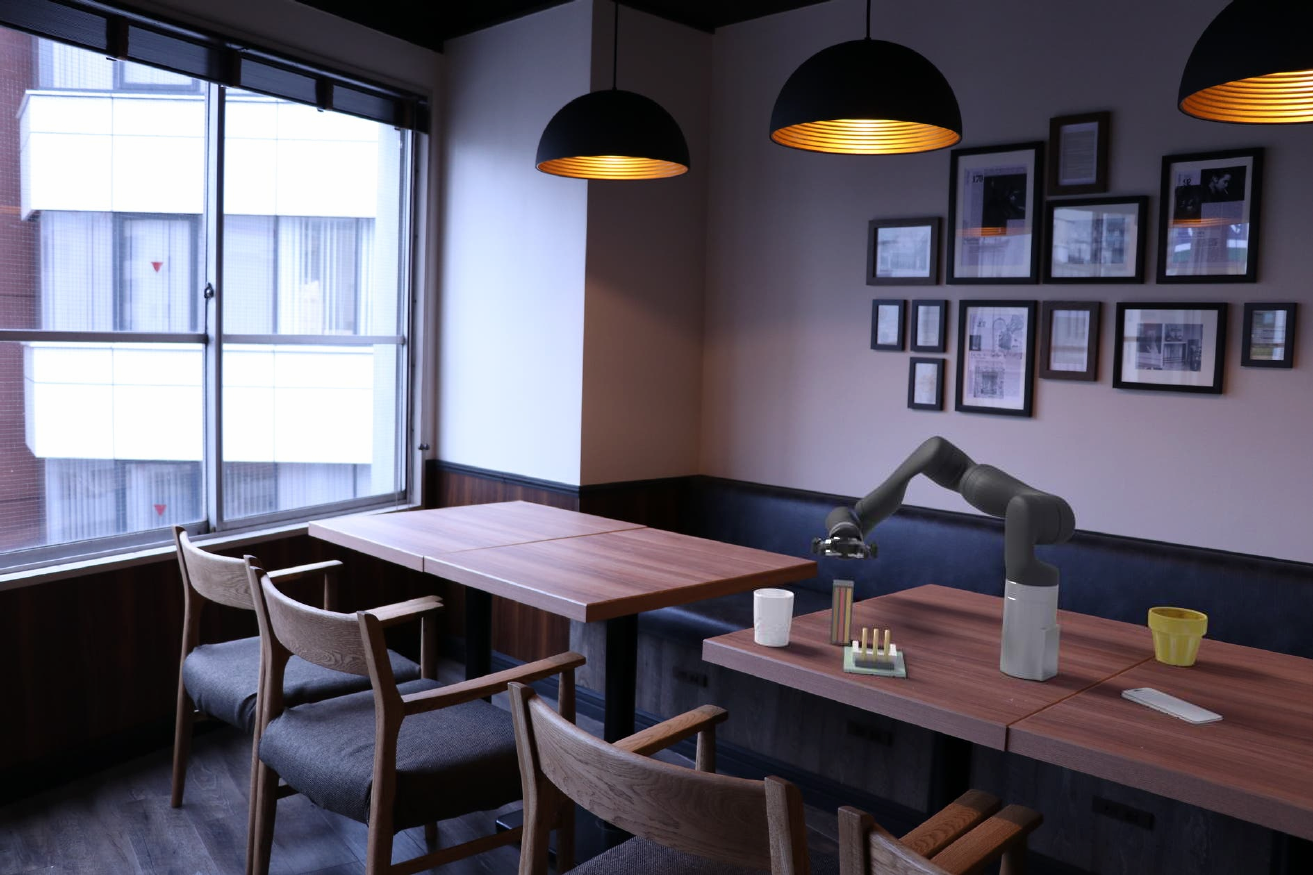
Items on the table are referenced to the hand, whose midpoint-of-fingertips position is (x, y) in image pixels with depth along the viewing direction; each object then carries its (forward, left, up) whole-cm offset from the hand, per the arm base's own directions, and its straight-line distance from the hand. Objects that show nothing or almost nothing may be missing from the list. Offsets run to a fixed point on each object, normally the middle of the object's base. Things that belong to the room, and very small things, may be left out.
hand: (844, 554), depth 219 cm
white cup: (+1, +21, -16) cm, 27 cm away
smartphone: (-66, -4, -16) cm, 68 cm away
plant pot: (-56, -34, -16) cm, 67 cm away
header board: (-19, +16, -16) cm, 30 cm away
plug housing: (-7, +9, -16) cm, 19 cm away
